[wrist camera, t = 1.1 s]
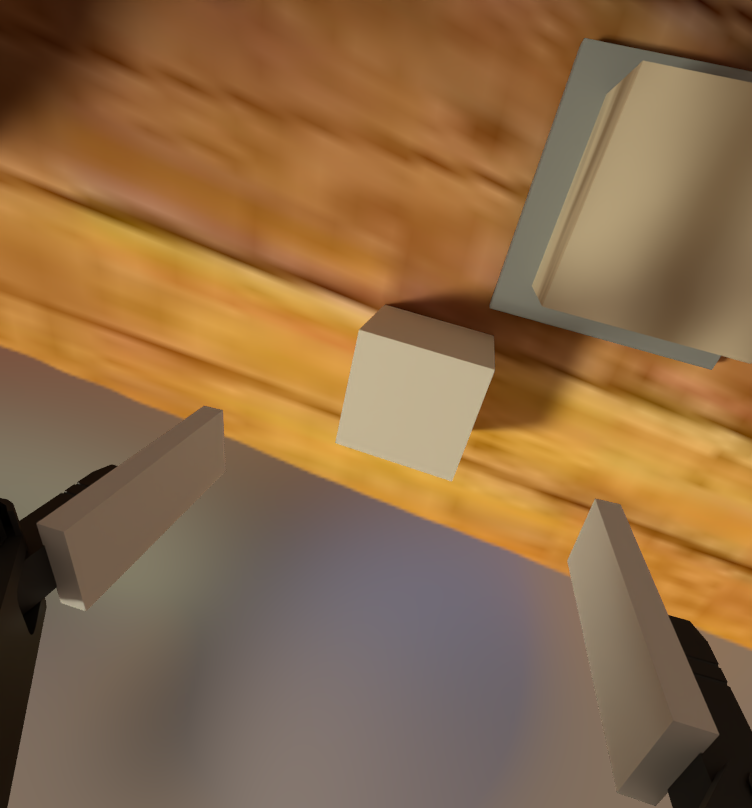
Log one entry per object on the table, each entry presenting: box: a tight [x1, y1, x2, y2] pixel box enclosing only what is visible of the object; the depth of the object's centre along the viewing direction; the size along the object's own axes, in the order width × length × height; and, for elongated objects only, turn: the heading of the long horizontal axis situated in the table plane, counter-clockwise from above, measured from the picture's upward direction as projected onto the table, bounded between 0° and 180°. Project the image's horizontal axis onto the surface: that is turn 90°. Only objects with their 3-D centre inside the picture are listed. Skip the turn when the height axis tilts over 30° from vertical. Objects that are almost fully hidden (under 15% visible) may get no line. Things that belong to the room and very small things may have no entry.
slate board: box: [490, 38, 752, 370], centre depth 24 cm, size 14×14×1 cm
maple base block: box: [532, 61, 752, 364], centre depth 21 cm, size 10×10×6 cm
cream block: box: [335, 305, 495, 481], centre depth 29 cm, size 8×8×7 cm
